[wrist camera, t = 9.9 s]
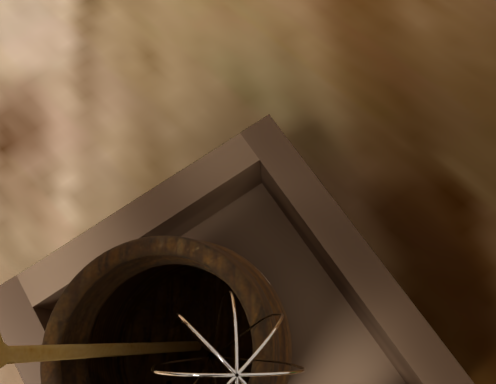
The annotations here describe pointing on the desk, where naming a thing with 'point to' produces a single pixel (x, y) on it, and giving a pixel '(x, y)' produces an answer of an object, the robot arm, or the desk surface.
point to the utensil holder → (164, 320)
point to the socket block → (261, 265)
